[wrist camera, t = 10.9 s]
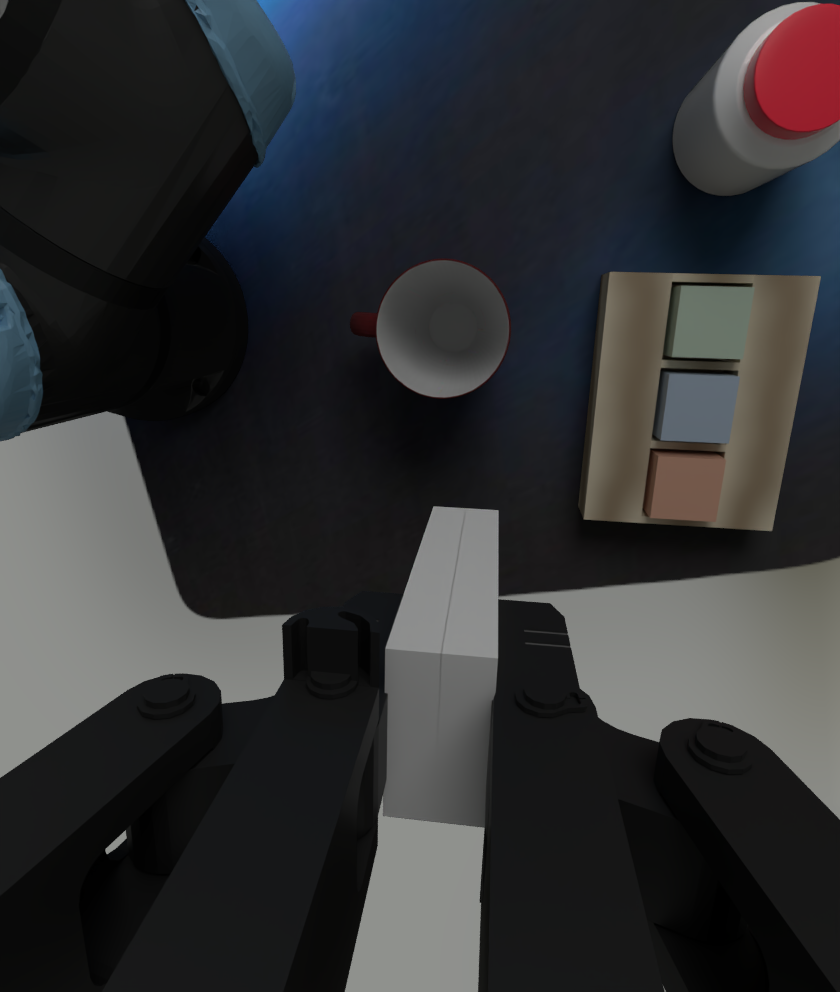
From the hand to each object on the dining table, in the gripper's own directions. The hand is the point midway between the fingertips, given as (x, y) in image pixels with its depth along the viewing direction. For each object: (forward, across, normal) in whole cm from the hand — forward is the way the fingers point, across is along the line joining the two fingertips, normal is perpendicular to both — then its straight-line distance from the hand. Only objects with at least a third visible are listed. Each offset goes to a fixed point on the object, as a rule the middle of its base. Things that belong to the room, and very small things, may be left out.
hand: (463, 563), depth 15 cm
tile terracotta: (+33, +14, -6) cm, 36 cm away
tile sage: (+33, +14, +6) cm, 36 cm away
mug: (+35, -4, +4) cm, 35 cm away
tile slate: (+33, +14, 0) cm, 36 cm away
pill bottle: (+35, +15, +18) cm, 42 cm away
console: (+34, +14, 0) cm, 37 cm away
